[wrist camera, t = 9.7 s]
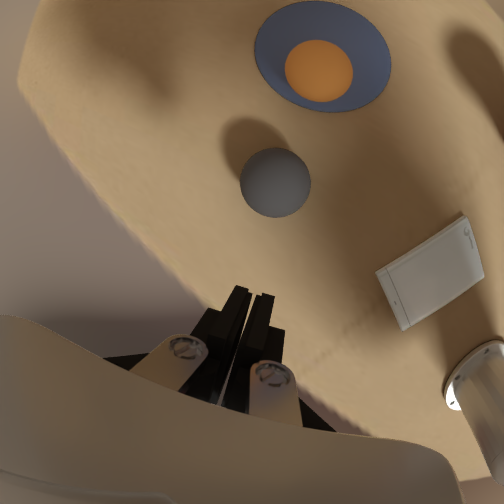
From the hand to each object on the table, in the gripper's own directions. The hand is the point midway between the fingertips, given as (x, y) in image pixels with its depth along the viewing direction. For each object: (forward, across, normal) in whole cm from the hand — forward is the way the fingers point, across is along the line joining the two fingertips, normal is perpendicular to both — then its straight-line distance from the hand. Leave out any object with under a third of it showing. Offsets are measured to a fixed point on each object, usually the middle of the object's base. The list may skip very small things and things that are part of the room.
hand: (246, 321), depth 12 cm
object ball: (+14, 0, -16) cm, 21 cm away
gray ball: (+14, +1, -5) cm, 15 cm away
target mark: (+17, 0, -20) cm, 26 cm away
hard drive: (+18, -18, -1) cm, 25 cm away
